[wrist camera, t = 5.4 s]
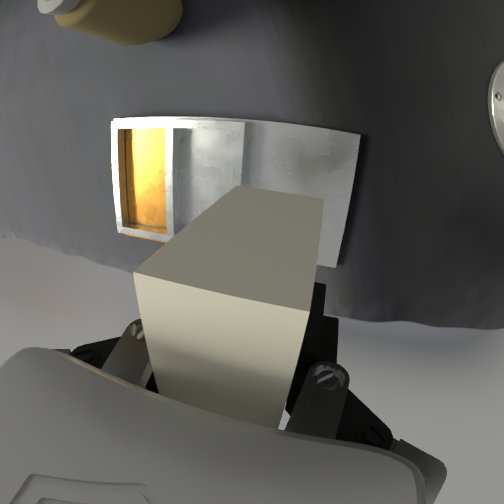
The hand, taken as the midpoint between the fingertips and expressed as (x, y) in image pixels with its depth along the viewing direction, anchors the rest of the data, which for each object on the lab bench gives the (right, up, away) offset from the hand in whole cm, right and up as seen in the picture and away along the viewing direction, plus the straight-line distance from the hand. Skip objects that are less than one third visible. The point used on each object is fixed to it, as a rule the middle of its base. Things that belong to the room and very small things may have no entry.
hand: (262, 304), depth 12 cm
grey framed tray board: (-4, +9, +16) cm, 19 cm away
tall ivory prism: (0, +1, +1) cm, 1 cm away
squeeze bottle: (-10, +26, +10) cm, 30 cm away
